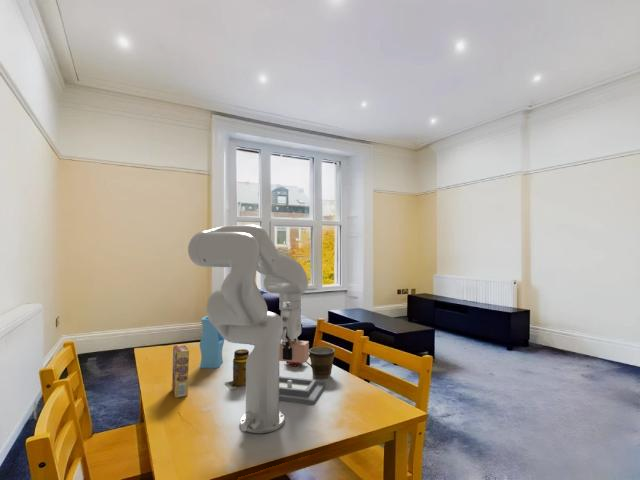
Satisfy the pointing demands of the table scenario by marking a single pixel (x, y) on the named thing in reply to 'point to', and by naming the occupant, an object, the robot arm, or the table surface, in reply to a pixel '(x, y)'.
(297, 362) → the dragon fruit
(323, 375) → the ceramic cup
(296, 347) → the pink block with hole
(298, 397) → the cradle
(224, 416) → the table surface
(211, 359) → the vase
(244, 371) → the condiment
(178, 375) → the candy box
